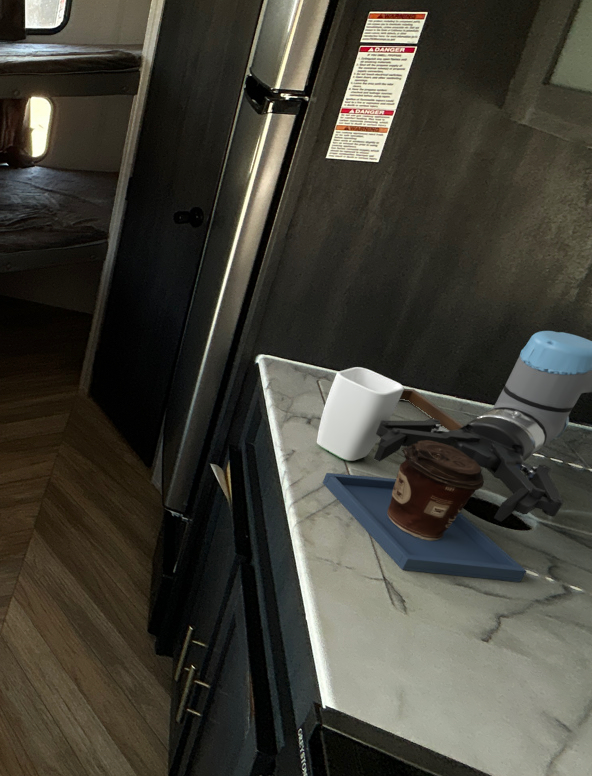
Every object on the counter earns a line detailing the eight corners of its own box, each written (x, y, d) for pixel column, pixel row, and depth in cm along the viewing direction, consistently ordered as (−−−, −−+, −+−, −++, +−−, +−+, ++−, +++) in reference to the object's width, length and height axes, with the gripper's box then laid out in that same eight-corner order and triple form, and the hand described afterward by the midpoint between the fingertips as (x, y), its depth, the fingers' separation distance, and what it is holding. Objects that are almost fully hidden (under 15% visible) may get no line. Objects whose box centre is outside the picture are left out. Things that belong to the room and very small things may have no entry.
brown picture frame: (471, 446, 113) (477, 435, 112) (381, 439, 115) (386, 428, 114) (409, 399, 126) (414, 389, 125) (329, 393, 128) (333, 383, 127)
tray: (520, 582, 86) (527, 571, 85) (402, 570, 88) (407, 558, 87) (420, 491, 102) (425, 481, 101) (322, 482, 104) (326, 472, 103)
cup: (331, 434, 116) (359, 365, 110) (377, 459, 109) (409, 387, 104) (304, 443, 113) (332, 372, 108) (349, 468, 107) (381, 395, 101)
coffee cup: (370, 521, 95) (402, 452, 90) (378, 495, 101) (409, 428, 96) (449, 556, 89) (488, 484, 84) (454, 526, 95) (491, 457, 90)
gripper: (408, 380, 109) (344, 412, 100) (633, 468, 88) (576, 519, 79) (392, 416, 111) (328, 451, 103) (606, 509, 91) (549, 563, 82)
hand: (436, 480), depth 91 cm, fingers open, 13 cm apart
